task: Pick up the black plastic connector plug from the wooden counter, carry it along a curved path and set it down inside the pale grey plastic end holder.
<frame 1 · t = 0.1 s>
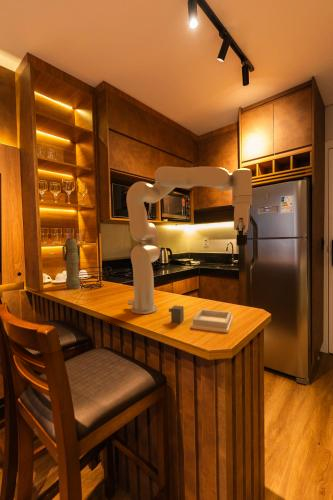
hand: (242, 244, 96), 31 cm above the countertop, fingers open, 9 cm apart
connector plug: (177, 321, 99), on the countertop
thermos: (73, 288, 168), on the countertop
end holder: (212, 322, 96), on the countertop
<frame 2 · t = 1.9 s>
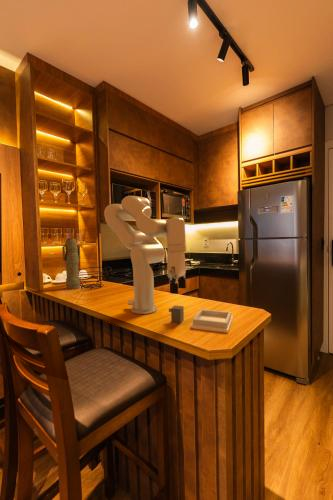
hand: (178, 290, 97), 13 cm above the countertop, fingers open, 9 cm apart
nothing on the countertop moved.
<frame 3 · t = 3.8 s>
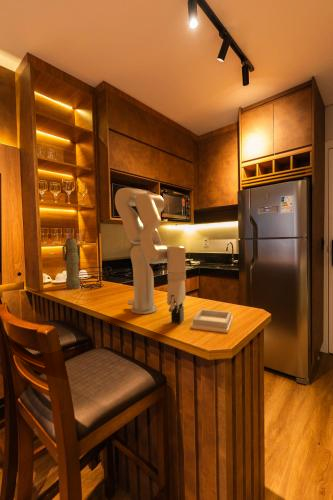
hand: (177, 319, 99), 1 cm above the countertop, fingers closed on connector plug, 4 cm apart
connector plug: (177, 321, 99), on the countertop, touching gripper
everything else where it was.
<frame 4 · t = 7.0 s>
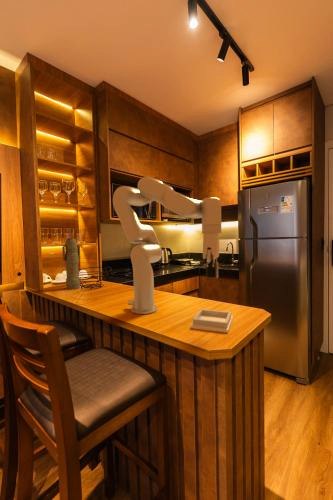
hand: (212, 275, 95), 19 cm above the countertop, fingers closed on connector plug, 4 cm apart
connector plug: (212, 277, 95), point 18 cm above the countertop, touching gripper
everything else where it was.
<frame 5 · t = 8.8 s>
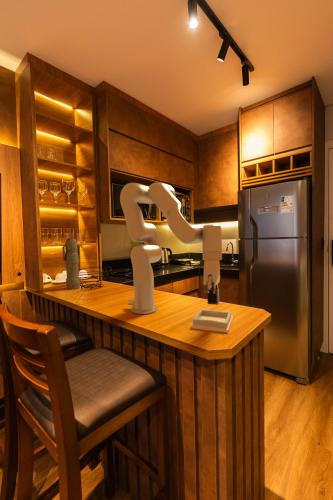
hand: (213, 301, 95), 9 cm above the countertop, fingers closed on connector plug, 4 cm apart
connector plug: (213, 303, 95), point 8 cm above the countertop, touching gripper
everything else where it was.
when the fingers open (3 cm above the countertop, at t = 10.3 s): connector plug drops 1 cm, resting on end holder.
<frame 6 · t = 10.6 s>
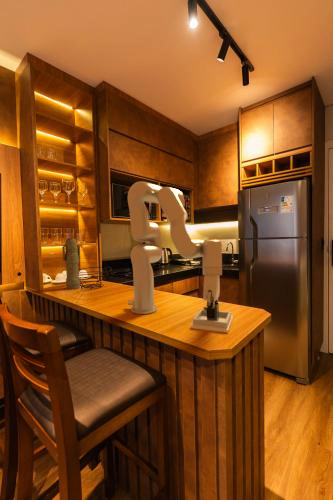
hand: (212, 314, 96), 3 cm above the countertop, fingers open, 7 cm apart
connector plug: (213, 320, 96), point 1 cm above the countertop, touching end holder
everything else where it was.
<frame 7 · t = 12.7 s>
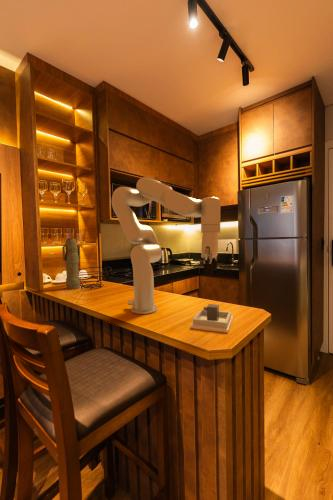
hand: (210, 271, 96), 21 cm above the countertop, fingers open, 9 cm apart
nothing on the countertop moved.
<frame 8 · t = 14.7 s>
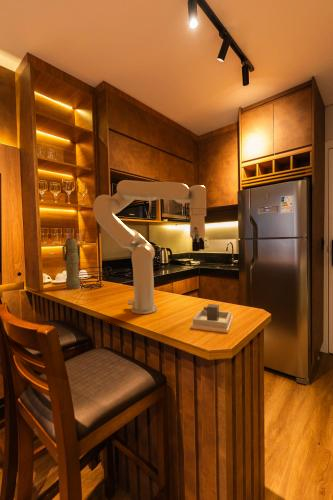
hand: (198, 250, 111), 28 cm above the countertop, fingers open, 9 cm apart
nothing on the countertop moved.
at the end: connector plug 0.1 cm off-centre on the end holder, point 1.0 cm above the end holder's base; connector plug tilted 0°; the gripper is holding nothing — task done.
